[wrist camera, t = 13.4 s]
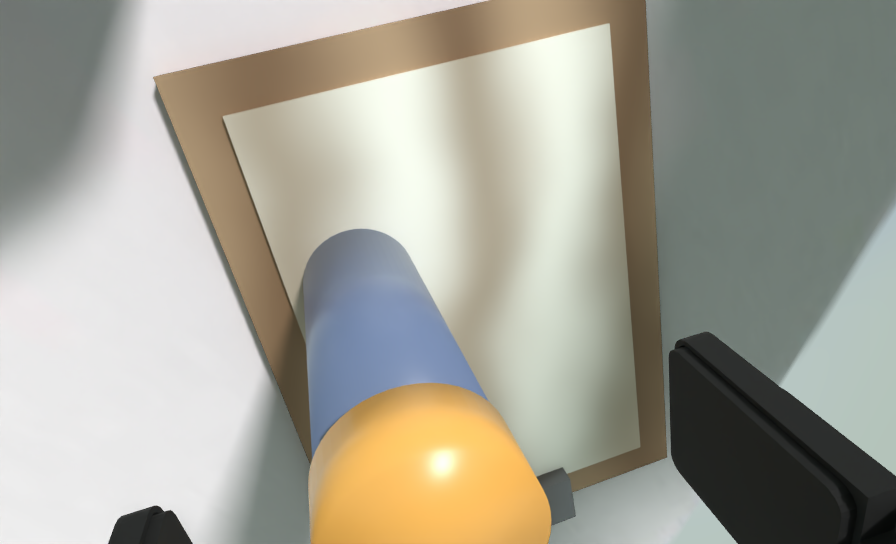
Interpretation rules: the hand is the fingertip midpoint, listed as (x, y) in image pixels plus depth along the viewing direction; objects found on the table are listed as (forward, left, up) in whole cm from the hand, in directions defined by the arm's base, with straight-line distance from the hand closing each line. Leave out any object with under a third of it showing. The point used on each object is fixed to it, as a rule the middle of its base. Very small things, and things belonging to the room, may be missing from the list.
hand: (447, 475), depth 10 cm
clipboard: (-3, +4, -12) cm, 13 cm away
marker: (+1, +1, -11) cm, 11 cm away
